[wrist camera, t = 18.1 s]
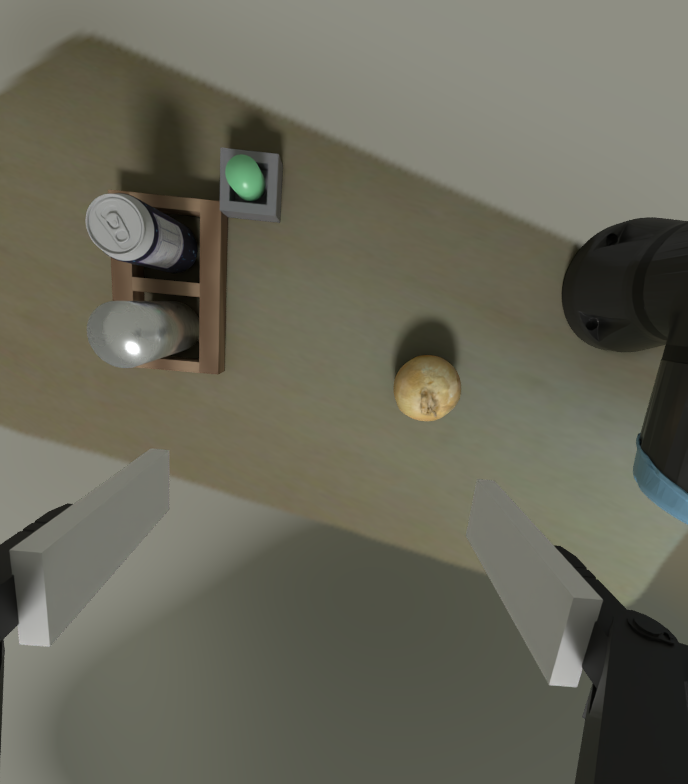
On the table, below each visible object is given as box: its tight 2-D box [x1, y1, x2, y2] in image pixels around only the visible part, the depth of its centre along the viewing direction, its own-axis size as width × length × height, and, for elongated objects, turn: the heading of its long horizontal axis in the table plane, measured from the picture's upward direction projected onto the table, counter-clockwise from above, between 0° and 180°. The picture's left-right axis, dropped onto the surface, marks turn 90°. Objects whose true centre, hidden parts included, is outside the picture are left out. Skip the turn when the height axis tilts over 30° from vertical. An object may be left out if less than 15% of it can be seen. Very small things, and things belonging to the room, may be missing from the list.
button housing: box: [220, 148, 283, 223], centre depth 40 cm, size 6×6×3 cm
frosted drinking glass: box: [87, 301, 199, 368], centre depth 39 cm, size 6×6×12 cm
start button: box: [225, 154, 266, 201], centre depth 37 cm, size 3×3×3 cm
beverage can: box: [86, 193, 198, 273], centre depth 37 cm, size 6×6×12 cm
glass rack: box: [108, 190, 228, 374], centre depth 42 cm, size 12×19×2 cm, turn 175°
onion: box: [394, 355, 461, 421], centre depth 43 cm, size 8×8×7 cm
